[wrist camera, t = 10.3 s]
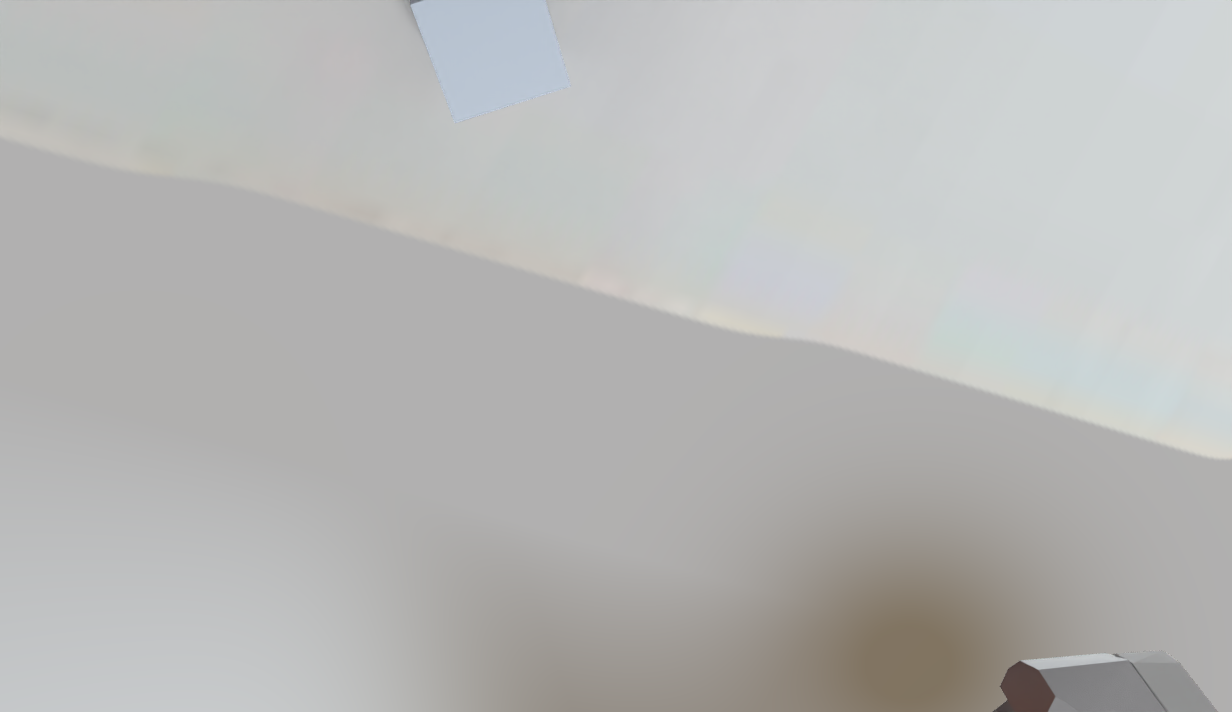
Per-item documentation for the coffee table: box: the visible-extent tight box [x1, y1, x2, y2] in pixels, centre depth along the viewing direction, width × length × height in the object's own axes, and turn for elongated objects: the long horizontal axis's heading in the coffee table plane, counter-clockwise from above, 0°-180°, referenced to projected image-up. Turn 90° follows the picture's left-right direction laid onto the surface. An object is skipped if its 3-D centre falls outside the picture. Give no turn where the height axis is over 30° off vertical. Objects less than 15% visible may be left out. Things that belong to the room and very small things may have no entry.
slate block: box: [410, 0, 571, 123], centre depth 35 cm, size 4×4×4 cm
